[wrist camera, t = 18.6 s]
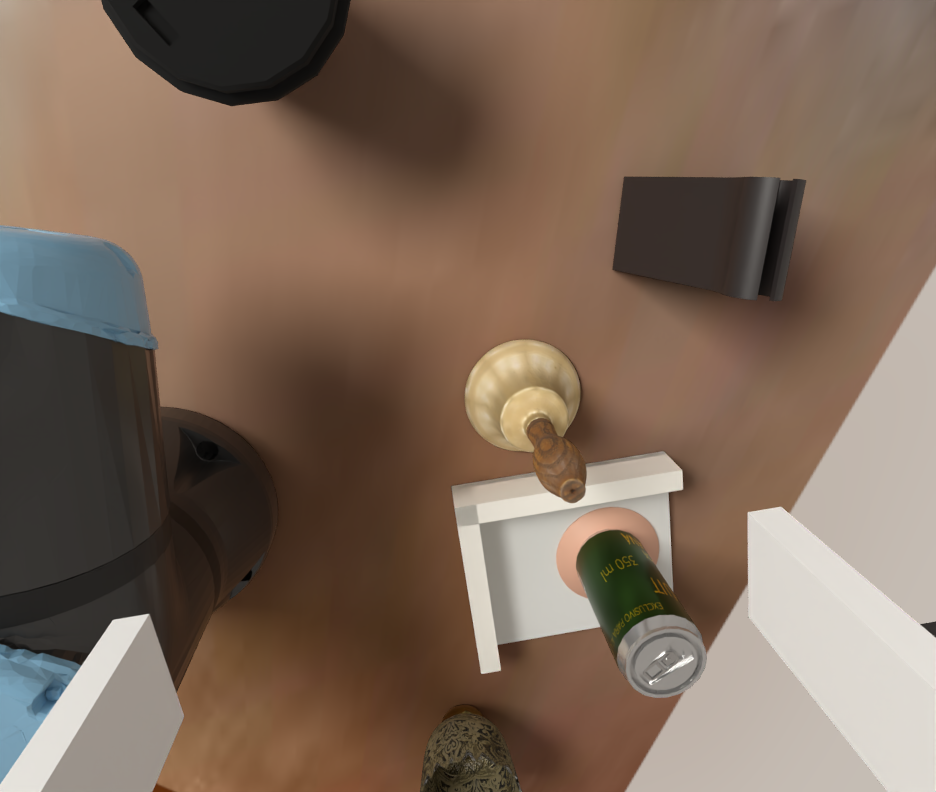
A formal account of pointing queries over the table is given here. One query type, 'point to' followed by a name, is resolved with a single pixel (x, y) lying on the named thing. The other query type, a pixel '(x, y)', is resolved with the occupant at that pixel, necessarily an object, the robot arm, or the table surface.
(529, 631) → the tray
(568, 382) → the hand bell
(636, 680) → the beer can
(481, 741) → the cup
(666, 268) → the phone stand
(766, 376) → the table surface
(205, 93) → the coffee cup
